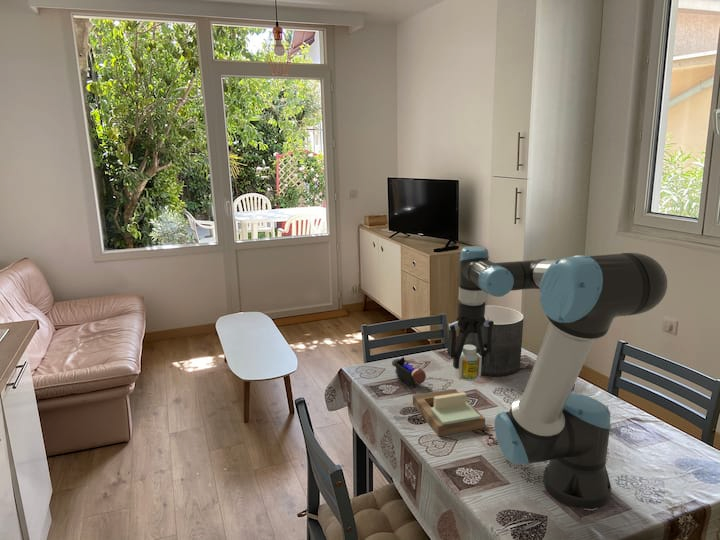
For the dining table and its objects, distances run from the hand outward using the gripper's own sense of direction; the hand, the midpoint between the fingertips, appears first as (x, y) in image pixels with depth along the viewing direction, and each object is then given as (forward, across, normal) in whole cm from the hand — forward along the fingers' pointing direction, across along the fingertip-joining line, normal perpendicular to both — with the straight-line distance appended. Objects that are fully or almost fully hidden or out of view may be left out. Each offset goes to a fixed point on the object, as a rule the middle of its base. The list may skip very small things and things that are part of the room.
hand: (467, 376), depth 150 cm
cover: (+12, +3, -1) cm, 13 cm away
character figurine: (+17, +7, -32) cm, 37 cm away
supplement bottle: (0, 0, 0) cm, 1 cm away
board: (+16, +3, -6) cm, 17 cm away
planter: (+17, -28, -37) cm, 49 cm away
